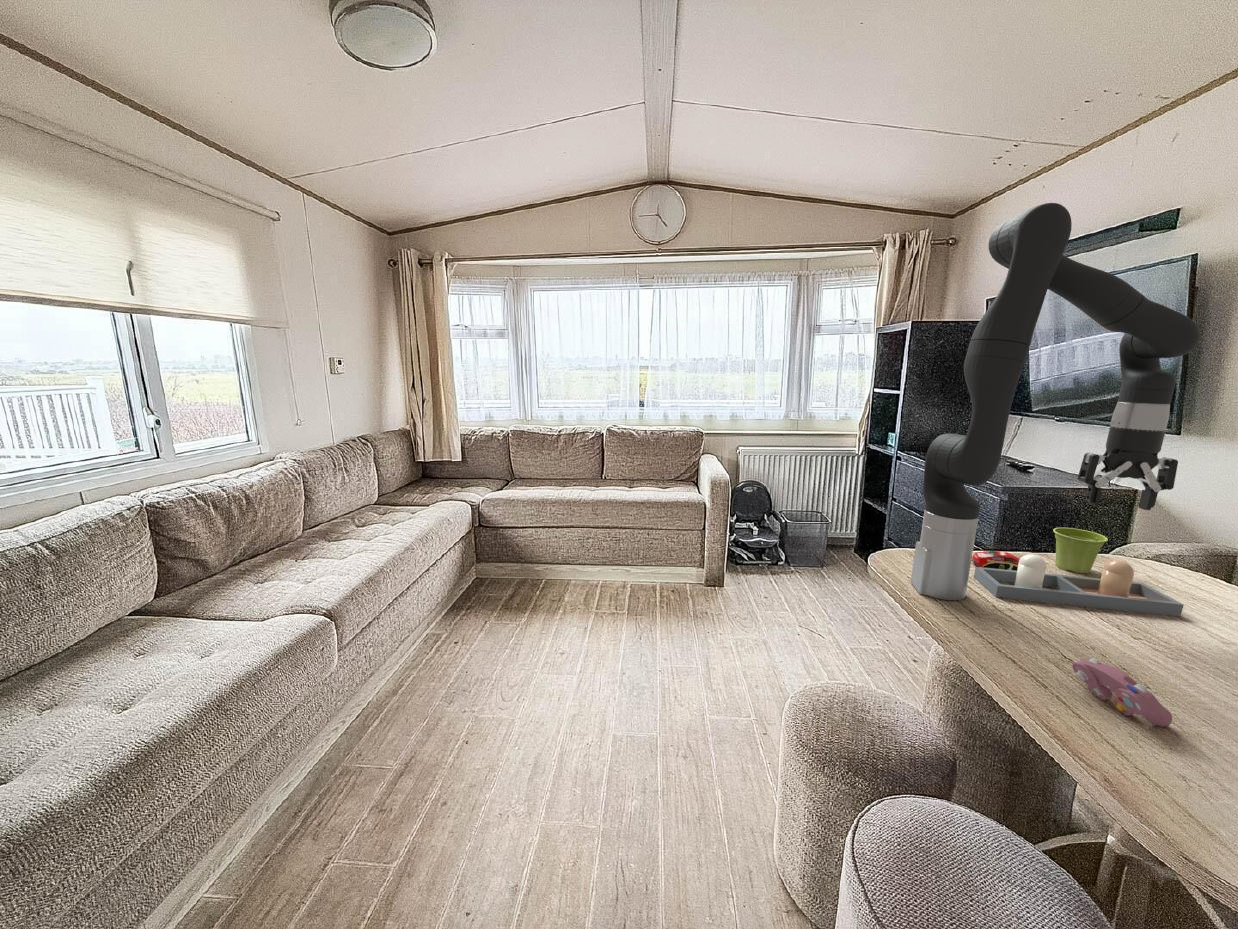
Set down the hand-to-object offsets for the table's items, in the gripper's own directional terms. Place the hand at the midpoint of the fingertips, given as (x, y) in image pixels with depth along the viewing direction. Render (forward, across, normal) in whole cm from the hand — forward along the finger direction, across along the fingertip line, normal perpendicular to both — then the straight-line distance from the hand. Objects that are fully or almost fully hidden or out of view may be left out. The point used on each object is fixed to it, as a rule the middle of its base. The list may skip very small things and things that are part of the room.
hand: (1118, 506), depth 98 cm
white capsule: (+20, -13, -1) cm, 23 cm away
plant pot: (+20, +5, +16) cm, 26 cm away
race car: (+20, -11, +12) cm, 26 cm away
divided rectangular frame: (+20, -5, -1) cm, 20 cm away
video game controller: (+20, -20, -40) cm, 49 cm away
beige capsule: (+19, +2, -1) cm, 19 cm away
